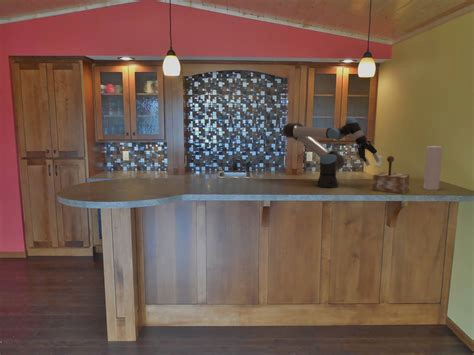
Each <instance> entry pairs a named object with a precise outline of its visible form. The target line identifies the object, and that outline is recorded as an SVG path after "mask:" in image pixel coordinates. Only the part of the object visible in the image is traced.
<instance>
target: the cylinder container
mask: <svg viewBox="0 0 474 355" xmlns="http://www.w3.org/2000/svg"><path fill="white" fill-rule="evenodd" d="M425 150H426V151H425V161H424V162H425V165H424V177H423V178H424V179H423V189H425V190H429V191H438V189H439V190H440V180H441V167H442V166H441V165H442V157H443V156H442V153H443V146H438V145H429V146H426V149H425Z"/></svg>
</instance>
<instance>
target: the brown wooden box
mask: <svg viewBox="0 0 474 355" xmlns="http://www.w3.org/2000/svg"><path fill="white" fill-rule="evenodd" d="M371 188H372V191H373V192H383V193H393V194H406V193H407V192H408V191H409V189H410V175H409V176H408V177H406V178H394V177H381V176H373V175H372V187H371Z"/></svg>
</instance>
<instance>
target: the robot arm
mask: <svg viewBox="0 0 474 355" xmlns="http://www.w3.org/2000/svg"><path fill="white" fill-rule="evenodd" d="M350 134H351V135H352V137H353V140H355V141H354V142H355V143H356V148H357V152H358V157H359V158H360V159H362V161H363V162H364V164H365V166H366V167H368V166H370V165H371V163H370V161H369V159H368V158H367V156H366V150H367V151H368V152H370V153H371V155H372V156H373V158H374V160H375V162H376V163H379V162H380V161H381V160H380V157H379V155H378V154H377V153H378V150H377V149H376V148H375V147H374V146H373V145H372V143H371V142H370V141H367V137H366V135H365V134H364V131H363V129H362V128H361V126H360V124H359V122H358V121H357V119H356V117H353V116H352V117H350V118H348V119H347V120H345V124H344V125H342V126H341V127H318V126H304V125H303V124H302V123H299V122H295V123H292V122H291V123H290V122H289V123H286V124H285V125H283V128H282V135H283V136H284V137H285V138H287V139H288V138H289V139H294V140H295V141H296V142H297V143H298V142H300V143H302V144H303V145H304V146H305V147H306V148H308V150H310V151H312V152H313V153H314V154H315V155H316V156H317V157H319V158H320V159H319V176H318V180H317V182H316V186H317V187H318V186H319V188H323V187H330V188H329V189H333V188H332V187H335V188H338V187H339V182H338V178H337V171H339V170H341V169H342V168H343V167H344V166H345V162H346V160H345V158H344V156H343V155H341V154H340V153H336V152H335V151H334V150H329V149H328V148H327V147H325V146H324V145H323V144H322V143H320V142H319V141H318V140H316V139H315V138H317V139H318V138H323V139H332V140H335V141H340V140H341V139H344V138H345V137H348V136H349V135H350Z"/></svg>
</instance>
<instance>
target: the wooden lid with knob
mask: <svg viewBox="0 0 474 355" xmlns="http://www.w3.org/2000/svg"><path fill="white" fill-rule="evenodd" d="M386 161H387V162H388V172H384V171H378V172H376V173H374V174H373V175H372V177H373V176H381V177H394V178H406V177H408V176H410V174H409V173H401V172H400V173H397V172H392V166H393V165H392V163H393V162H394V161H395V156H392V155H390V156H388V157H387V159H386Z"/></svg>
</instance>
